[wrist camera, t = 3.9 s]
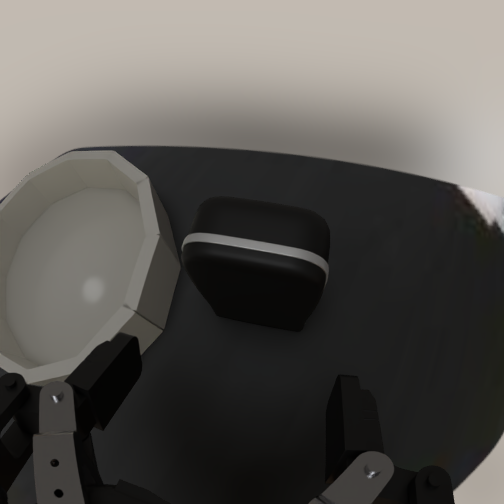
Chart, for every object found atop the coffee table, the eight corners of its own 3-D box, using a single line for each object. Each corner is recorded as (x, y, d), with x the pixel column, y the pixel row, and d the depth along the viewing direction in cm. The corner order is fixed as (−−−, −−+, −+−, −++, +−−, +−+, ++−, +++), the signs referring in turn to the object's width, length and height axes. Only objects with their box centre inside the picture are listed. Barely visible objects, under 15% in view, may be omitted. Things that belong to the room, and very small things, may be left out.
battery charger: (312, 286, 24) (342, 200, 13) (304, 334, 22) (334, 279, 12) (224, 270, 25) (192, 178, 14) (212, 315, 23) (165, 249, 13)
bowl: (203, 193, 28) (191, 152, 23) (143, 420, 20) (109, 424, 15) (49, 183, 30) (26, 154, 26) (-13, 344, 22) (-49, 330, 17)
